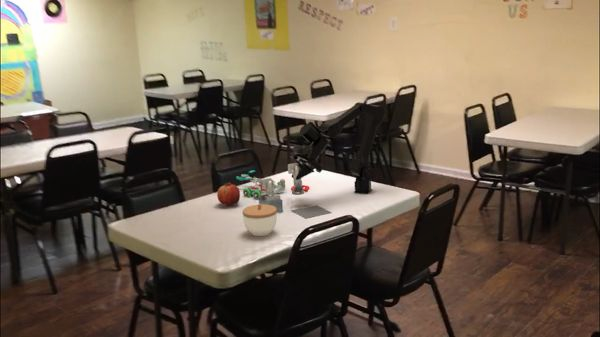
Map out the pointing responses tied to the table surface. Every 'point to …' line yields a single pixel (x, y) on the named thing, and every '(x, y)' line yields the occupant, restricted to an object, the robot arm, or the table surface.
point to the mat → (311, 211)
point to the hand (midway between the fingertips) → (294, 178)
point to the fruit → (228, 194)
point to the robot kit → (259, 185)
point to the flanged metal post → (295, 170)
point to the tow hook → (302, 187)
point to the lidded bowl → (260, 219)
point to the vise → (270, 195)
